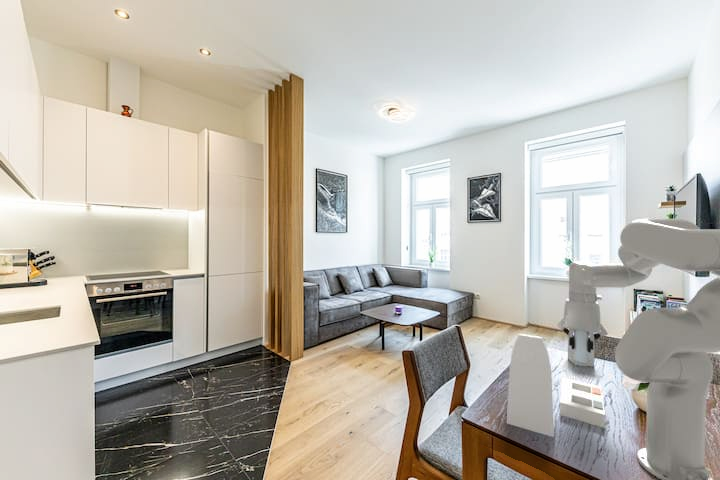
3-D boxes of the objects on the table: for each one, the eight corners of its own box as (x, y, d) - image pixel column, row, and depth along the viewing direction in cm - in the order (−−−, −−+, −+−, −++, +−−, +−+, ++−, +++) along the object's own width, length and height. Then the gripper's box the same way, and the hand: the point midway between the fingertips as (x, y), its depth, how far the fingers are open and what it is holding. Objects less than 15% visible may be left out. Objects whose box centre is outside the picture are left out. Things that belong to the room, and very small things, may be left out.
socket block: (605, 428, 86) (605, 413, 86) (559, 414, 92) (560, 401, 92) (600, 398, 102) (600, 385, 102) (562, 388, 108) (562, 376, 108)
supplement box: (594, 367, 125) (595, 338, 125) (575, 365, 127) (575, 337, 127) (585, 360, 132) (585, 332, 132) (567, 358, 134) (567, 331, 134)
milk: (551, 415, 92) (552, 333, 92) (553, 437, 82) (554, 345, 82) (509, 404, 98) (509, 327, 98) (506, 423, 88) (507, 338, 88)
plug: (590, 362, 99) (591, 327, 99) (579, 362, 99) (579, 327, 99) (582, 357, 103) (582, 323, 103) (570, 357, 103) (571, 323, 103)
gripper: (612, 298, 99) (611, 352, 99) (553, 292, 109) (552, 340, 109) (615, 303, 92) (613, 359, 93) (552, 296, 103) (551, 347, 103)
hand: (580, 349), depth 101 cm, fingers closed on plug, 4 cm apart
